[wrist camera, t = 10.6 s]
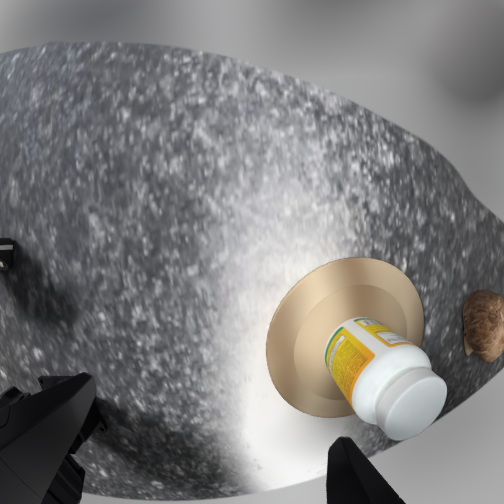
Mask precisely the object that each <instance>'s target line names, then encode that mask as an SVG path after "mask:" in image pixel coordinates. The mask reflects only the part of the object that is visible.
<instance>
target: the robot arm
mask: <svg viewBox="0 0 504 504" xmlns="http://www.w3.org/2000/svg"><path fill="white" fill-rule="evenodd" d="M38 381H39V383H40V385H41V388H42V390H43V391H41V392H38V393H36V394H34V395H32V396H31V394H30V393H22V392H21V391H19V390H18V389H17V388H16V387H15V386H13V387H10V388H9V389H7V390H6V391H5V392H3V393H2V394H1V395H0V504H79V503H80V501H81V498H82V489H83V483H84V477H85V470H84V469H83V468H82V467H80V466H79V465H78V463H77V462H76V461H75V460H74V459H73V457H72V456H71V455H70V454H75V453H76V452H77V450H78V449H79V448H80V446H81V445H82V443H83V442H86V441H87V439H88V438H89V437H90V435H91V434H92V432H97V433H106V431H107V430H108V428H107V426H106V424H105V423H104V421H103V419H102V417H101V415H100V413H99V411H98V409H97V407H96V405H95V403H94V401H93V400H94V398H95V395H96V386H95V380H94V377H93V376H92V375H90V374H88V373H85V372H83V373H80V374H78V375H76V376H40V377H39V378H38ZM326 491H327V504H406V503H405V502H404V501H403V500H402V499H401V498H399V495H398V494H397V493H396V492H395V491H394V490H393V488H392V487H391V486H390V485H389V484H388V483H387V481H386V480H385V479H384V478H383V477H382V476H381V474H380V473H379V472H378V471H377V470H376V468H375V467H374V466H373V465H372V464H371V462H370V461H369V460H368V459H367V457H366V456H365V455H364V454H363V453H362V451H361V450H360V449H359V448H358V446H357V445H356V444H355V443H354V441H353V440H352V439H351V438H350V437H339V438H337V440H336V441H335V442H334V443H333V444H332V446H331V447H330V448H329V451H328V465H327V480H326Z"/></svg>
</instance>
